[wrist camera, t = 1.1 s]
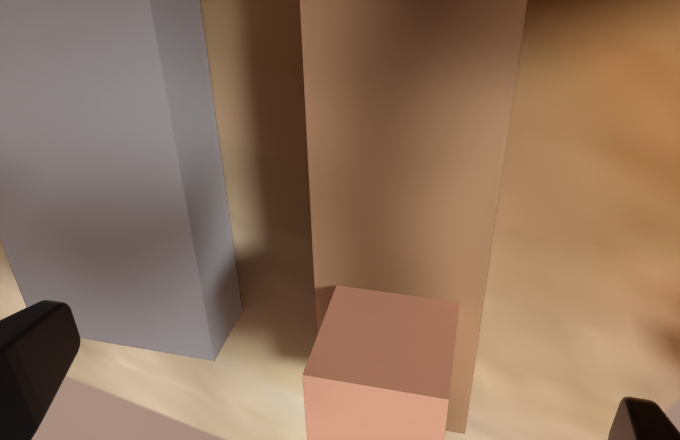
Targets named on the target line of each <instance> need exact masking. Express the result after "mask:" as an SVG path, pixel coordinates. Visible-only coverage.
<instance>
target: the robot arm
mask: <svg viewBox="0 0 680 440" xmlns="http://www.w3.org/2000/svg"><path fill="white" fill-rule="evenodd" d="M79 347H80V335H79V331H78V328H77V325H76V322H75V319H74V316H73V313H72V310H71V308H70V306H69V305H68V304H66V303H64V302H58V301H52V300H42V301H40V302H38V303H36V304H33V305H31V306H29V307H27V308H25V309H23V310H21V311H19V312H17V313H15V314H13V315H11V316H8V317H6V318H4V319H2V320H0V440H31V439H32V437H33V436H34V434H35V433H36V431H37V429H38V428H39V425H40V424H41V422H42V420H43V418H44V417H45V415H46V413H47V411H48V409H49V407H50V405H51V403H52V401H53V399H54V397H55V395H56V393H57V391H58V389H59V388H60V386H61V384H62V382H63V380H64V378H65V376H66V374H67V372H68V370H69V368H70V366H71V364H72V362H73V360H74V358H75V356H76V354H77V352H78V350H79ZM608 440H680V432H679V431H678V430H677V428H676V427H675V426H674V425H673V423H672V422H671V421H670V420H669V418H668V417H667V416H666V414H665V413H664V412H663V411H662V409H661V408H660V407H659V406H658V405H657V404H656V403H655V402H653V401H651V400H646V399H640V398H634V397H624V398H623V399H622V400H621V402H620V404H619V407H618V410H617V413H616V415H615V418H614V421H613V424H612V427H611V429H610V432H609V437H608Z"/></svg>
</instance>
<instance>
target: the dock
mask: <svg viewBox="0 0 680 440" xmlns="http://www.w3.org/2000/svg"><path fill="white" fill-rule="evenodd" d="M0 240H1V243H2V245H3V248H4V250H5V253H6V256H7V258H8V261H9V263H10V266H11V268H12V271H13V274H14V276H15V279H16V281H17V284H18V286H19V289H20V292H21V294H22V297H23V299H24V302H25V304H26V307H29V306H31V305H33V304H36V303H38V302H40V301H42V300H52V301H58V302H64V303H66V304H68V305H69V306H70V308H71V310H72V313H73V316H74V319H75V322H76V325H77V328H78V331H79V335H80V338H83V339H89V340H95V341H101V342H107V343H112V344H118V345H124V346H130V347H136V348H142V349H148V350H154V351H159V352H165V353H171V354H177V355H183V356H189V357H195V358H201V359H207V360H212V361H215V359H216V357H217V355H218V354H219V352H220V350H221V348H222V346H223V345H224V343H225V341H226V339H227V337H228V336H229V334H230V332H231V330H232V328H233V327H234V325H235V323H236V321H237V319H238V318H239V316H240V314H241V312H242V304H241V297H240V290H239V282H238V275H237V268H236V260H235V253H234V246H233V238H232V231H231V224H230V216H229V209H228V202H227V194H226V187H225V180H224V173H223V165H222V158H221V151H220V143H219V136H218V129H217V121H216V114H215V107H214V99H213V92H212V85H211V77H210V70H209V63H208V55H207V48H206V41H205V34H204V26H203V19H202V12H201V4H200V0H0Z"/></svg>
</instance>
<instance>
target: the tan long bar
mask: <svg viewBox="0 0 680 440" xmlns="http://www.w3.org/2000/svg"><path fill="white" fill-rule="evenodd" d="M526 6H527V0H300V14H301V34H302V53H303V73H304V92H305V112H306V131H307V151H308V170H309V190H310V209H311V228H312V248H313V267H314V287H315V306H316V326H317V335H318V333H319V330H320V327H321V325H322V322H323V320H324V317H325V314H326V312H327V309H328V307H329V304H330V301H331V299H332V296H333V293H334V291H335V288H336V286H337V285H338V286H345V287H352V288H360V289H367V290H374V291H381V292H389V293H396V294H403V295H411V296H418V297H425V298H433V299H440V300H447V301H454V302H460V303H459V312H458V321H457V330H456V339H455V348H454V357H453V367H452V376H451V385H450V394H449V403H448V411H447V420H446V428H445V430H446V431H451V432H457V433H462V434H465V429H466V422H467V415H468V408H469V401H470V394H471V388H472V381H473V374H474V367H475V360H476V353H477V346H478V339H479V332H480V325H481V318H482V311H483V304H484V297H485V290H486V284H487V277H488V270H489V263H490V256H491V249H492V242H493V235H494V228H495V221H496V214H497V207H498V200H499V193H500V186H501V180H502V173H503V166H504V159H505V152H506V145H507V138H508V131H509V124H510V117H511V110H512V103H513V96H514V89H515V82H516V76H517V69H518V62H519V55H520V48H521V41H522V34H523V27H524V20H525V13H526Z"/></svg>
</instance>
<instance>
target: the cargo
mask: <svg viewBox="0 0 680 440" xmlns="http://www.w3.org/2000/svg"><path fill="white" fill-rule="evenodd" d="M459 303H460V302H454V301H447V300H440V299H433V298H425V297H418V296H411V295H403V294H396V293H389V292H381V291H374V290H367V289H360V288H352V287H345V286H338V285H337V286H336V288H335V291H334V293H333V296H332V299H331V301H330V304H329V307H328V309H327V312H326V314H325V317H324V320H323V322H322V325H321V327H320V330H319V333H318V335H317V338H316V341H315V343H314V346H313V348H312V351H311V354H310V356H309V359H308V362H307V364H306V367H305V369H304V372H303V375H302V376H303V390H304V404H305V418H306V432H307V440H444V437H445V428H446V420H447V411H448V403H449V394H450V385H451V376H452V367H453V357H454V348H455V339H456V330H457V321H458V312H459Z"/></svg>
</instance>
